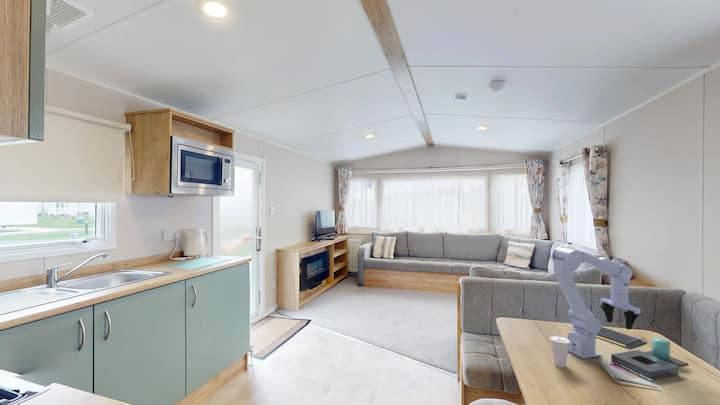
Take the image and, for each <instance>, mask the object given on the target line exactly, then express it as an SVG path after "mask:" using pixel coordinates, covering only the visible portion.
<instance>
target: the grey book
mask: <svg viewBox="0 0 720 405" xmlns="http://www.w3.org/2000/svg"><path fill="white" fill-rule="evenodd" d="M596 339H599V340H601V341H604V342H607V343H609V344H613V345H616V346H618V347H621V348H623V349H627V350H629V351H631V350H633V349H636V348H639V347H642V346H644V345H646V344H648V342H646V341H644V340H643V339H641V338H639V337H634V336H632V335H628V334H625V333H622V332H619V331H616V330H613V329H610V328H607V327H603V326H601V329H600V331H599V332H598V333H597V334H596Z"/></svg>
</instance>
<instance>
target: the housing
mask: <svg viewBox="0 0 720 405" xmlns="http://www.w3.org/2000/svg"><path fill="white" fill-rule="evenodd" d="M644 352H645V351H642V350H639V349H635V350H629V351H623V352H617V353H616V352H615V353H611V354H610V355H611V357H610V358H611V359H610V361H611V363H612V362H614V363H617V364H619V365H621V366H624V367H626V368H628V369H630V370H632V371H634V372H636V373H638V374H641V375H643V376H645V377H647V378H649V379H653V380H652V381H654V380H660V379H664V378H668V377H673V376H678V375H679V366H676V365H673V364H671V363H669V362H666V361H664V360H661V359H659V358H656V357H654V356H652V355H649V354H647V353H644ZM614 363H613V364H614ZM619 365H618V366H619ZM621 366H620V367H621Z"/></svg>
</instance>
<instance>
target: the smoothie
mask: <svg viewBox="0 0 720 405" xmlns="http://www.w3.org/2000/svg"><path fill="white" fill-rule="evenodd" d="M550 342H551V347H552V348H551V350H552V356H553V364H554V365H555V366H556V367H558V368H566V367H567V362H568V356H569V355H568V354H569V351H568V349H569V345H570V341H569V340H568V338H566V337H564V336H560V327H559V326H558V327H557V335H553V336H550Z"/></svg>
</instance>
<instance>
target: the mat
mask: <svg viewBox="0 0 720 405" xmlns="http://www.w3.org/2000/svg"><path fill="white" fill-rule="evenodd" d="M643 352H644V353H647V354H649V355H652V350H649V351H643ZM666 362H669V363H671V364H673V365H676V366H678V367H684V366H688V365H689V363H687V362H685V361H683V360H680V359H678V358H675V357H673V356H671V355H670V361H666Z"/></svg>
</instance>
